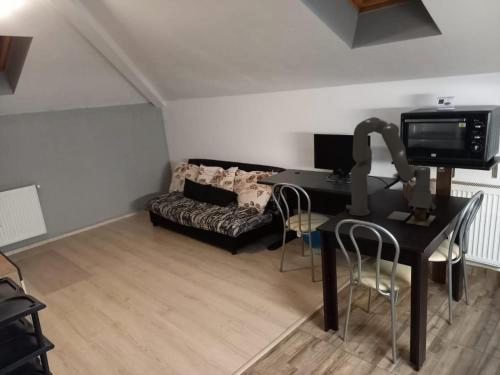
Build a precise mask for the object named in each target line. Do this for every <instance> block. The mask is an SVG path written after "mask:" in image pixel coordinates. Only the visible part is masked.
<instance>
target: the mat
mask: <svg viewBox="0 0 500 375" xmlns="http://www.w3.org/2000/svg"><path fill="white" fill-rule="evenodd" d="M410 215H411V213H410V212H409V213H408V212H401V211H395V210H394V211H393V212H392V213H391V214H389V215H388V217H386V219H390V220H397V221H405V220H406V219H407V218H408V217H409V216H410Z"/></svg>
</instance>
